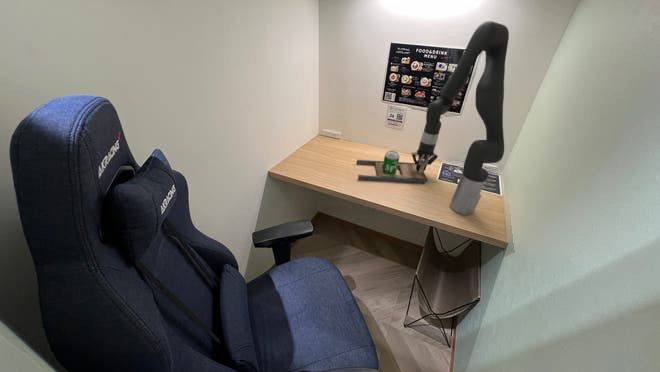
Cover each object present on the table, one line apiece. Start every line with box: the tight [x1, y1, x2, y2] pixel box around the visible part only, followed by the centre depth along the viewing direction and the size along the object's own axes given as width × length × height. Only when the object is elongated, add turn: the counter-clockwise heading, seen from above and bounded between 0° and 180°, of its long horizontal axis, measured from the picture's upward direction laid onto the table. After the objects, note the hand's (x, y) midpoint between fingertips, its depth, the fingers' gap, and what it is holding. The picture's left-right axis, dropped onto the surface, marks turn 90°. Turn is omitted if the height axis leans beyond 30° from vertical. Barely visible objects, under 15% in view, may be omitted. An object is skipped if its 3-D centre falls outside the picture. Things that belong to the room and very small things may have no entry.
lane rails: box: [356, 159, 426, 185], centre depth 139 cm, size 34×17×2 cm, turn 88°
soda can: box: [382, 150, 401, 175], centre depth 137 cm, size 8×8×12 cm
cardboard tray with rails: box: [374, 159, 428, 183], centre depth 137 cm, size 25×14×8 cm, turn 88°
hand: (420, 170), depth 138 cm, fingers closed on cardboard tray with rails, 2 cm apart
